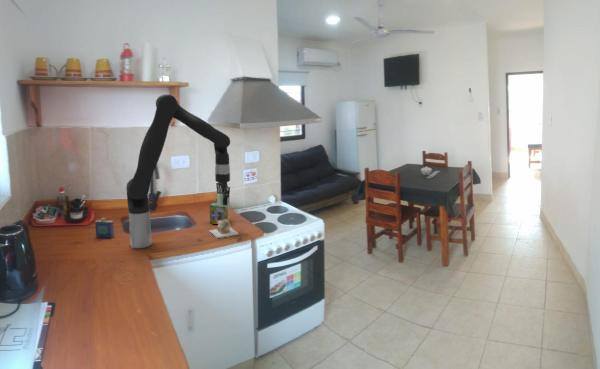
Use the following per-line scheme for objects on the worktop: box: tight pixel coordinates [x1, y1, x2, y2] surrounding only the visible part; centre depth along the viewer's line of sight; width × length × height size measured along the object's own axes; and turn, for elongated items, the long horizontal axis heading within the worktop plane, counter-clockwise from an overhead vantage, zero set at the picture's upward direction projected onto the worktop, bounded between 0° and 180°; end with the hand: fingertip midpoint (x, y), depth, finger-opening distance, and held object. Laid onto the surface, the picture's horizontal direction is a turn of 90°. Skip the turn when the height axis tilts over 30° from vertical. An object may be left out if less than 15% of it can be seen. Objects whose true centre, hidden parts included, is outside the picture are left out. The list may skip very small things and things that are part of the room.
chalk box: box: [208, 198, 229, 224], centre depth 215 cm, size 9×9×15 cm
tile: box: [208, 226, 240, 239], centre depth 198 cm, size 12×12×1 cm
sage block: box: [216, 193, 231, 207], centre depth 194 cm, size 5×5×6 cm
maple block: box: [217, 219, 231, 234], centre depth 197 cm, size 5×5×6 cm
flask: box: [94, 217, 115, 240], centre depth 187 cm, size 9×3×11 cm, turn 87°
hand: (223, 203), depth 194 cm, fingers closed on sage block, 5 cm apart
